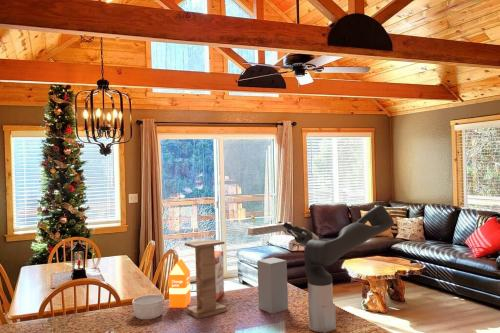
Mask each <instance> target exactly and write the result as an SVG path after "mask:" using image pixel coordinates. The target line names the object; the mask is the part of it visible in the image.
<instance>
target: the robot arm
mask: <svg viewBox="0 0 500 333" xmlns="http://www.w3.org/2000/svg"><path fill="white" fill-rule="evenodd" d="M287 222H288V221H287ZM287 222H286V221H285V222H282V221H280V220H279V221H278V222H277V224H278V223H284V225H283V226H284V227H285V228H287V229H288V230H287V231H282V232H283V233H284V234H286V235H290V236H291V237H294V241H295V242H296V243H297V244H299V245H301V246H302V247H304V252H303V253H304V254H303V255H304V258H303V259H304V268H305V275H306V278H307V294H308V295H307V296H308V297H307V298H308V299H307V300H308V328H309V330H311V331H314V332H317V333H329V332H331V331H335V330H336V329H337V326H336V325H337V324H336V322H337V321H336V304H335V303H334V294H333V292H334V290H333V289H334V288H333V287H334V286H333V276H332V274H331V273H330V272H329V271H327V270H326V269H325V268H324V267H328V266H331V265H333V264H334V263H335V262H337V261H338V260H339V259H340V258H341V257H343V256H344V255H345V254H347V253H349V252H350V251H351V252H352V251H353V250H354V249H356V248H358V247H359V246H361V245H363V244H364V243H366V242H367V241H369V240H370V239H372V238H374V237H376V236H378V235H380V234H382V233H384V232H387V231H388V230H389V229H390V230H391V228H392V227H393V226H394V224H395V221H394V219H393V218H392V216H391V214H390V212H388V210H387V209H386V207H385V206H384V205H382V204H380V205H376V206H374V207H372V208H371V209H369V210H368V211H367V212H366V213H365V214H364V215H363V216H362V217H360V218H359V219H358V220H357V221H356V222H352V223H350V224H348V225H346V226H344V227H343V228H341V229H340V231H339V233H338V236H337V237H336V238H334V239H332V240H327V239H323V238H321V237H319V236H317V235H316V234H315V233H314V232H312V231H310V230H309V229H307V228H305V227H298V226H297V225H296V226H294V225H290V224H288V223H287ZM368 222H369V224H370V225H369V224H367V223H368Z"/></svg>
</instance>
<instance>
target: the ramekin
mask: <svg viewBox="0 0 500 333" xmlns="http://www.w3.org/2000/svg"><path fill="white" fill-rule="evenodd" d="M164 302H165V297H164V296H163V295H161V294H144V295H140V296H137V297H134V298H133V299H132V302H131V304H132V308H133V314H134V316H135V318H136V319H138V320H139V319H140V320H151V319H155V318H158V317H160V316H161V315H162V313H163V311H164V310H163V309H164Z"/></svg>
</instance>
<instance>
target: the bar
mask: <svg viewBox="0 0 500 333" xmlns="http://www.w3.org/2000/svg"><path fill="white" fill-rule="evenodd" d="M284 223H285V222H282V223H278V222H277V223H272V224H265V225H258V226H251V227H247V235H248V236H254V237H255V236H261V235H266V234H273V233H279V232H283V231H287V230H288V229H287V228H285V227H284V226H283V225H284ZM287 223H288V224H290V225H293V222H288V221H287ZM293 226H294V225H293Z"/></svg>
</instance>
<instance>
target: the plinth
mask: <svg viewBox="0 0 500 333" xmlns="http://www.w3.org/2000/svg"><path fill="white" fill-rule="evenodd" d="M256 261H257V262H256V263H257V293H258V296H257V297H258V309H259V310H261V311H265V312H266V313H269V314H277V313H280V312H283V311H286V310H288V309H289V298H288V297H289V294H288V290H289V289H288V268H287V267H288V266H287V265H288V264H287V262H288V261H287V259H282V258H277V257H268V258H264V259H258V260H256Z"/></svg>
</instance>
